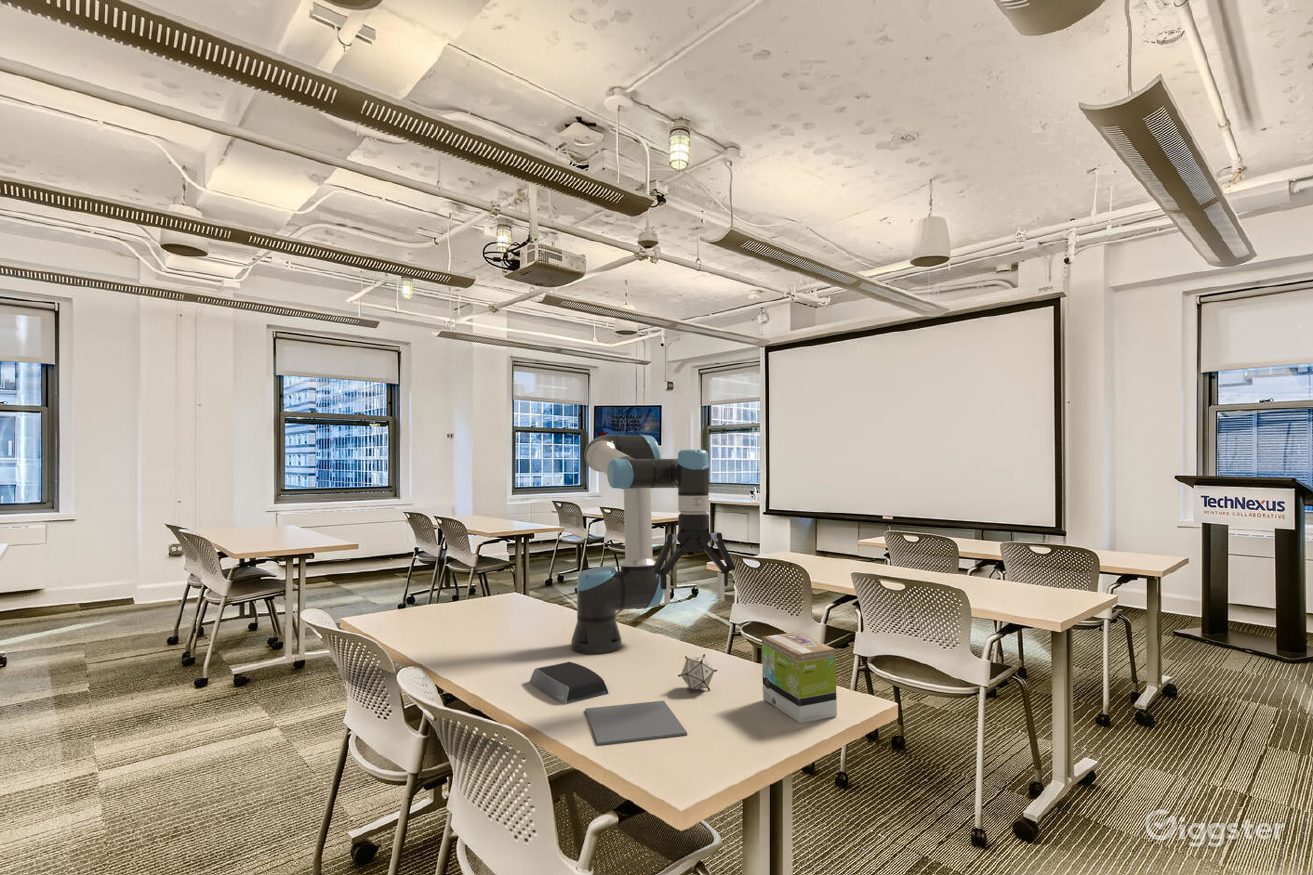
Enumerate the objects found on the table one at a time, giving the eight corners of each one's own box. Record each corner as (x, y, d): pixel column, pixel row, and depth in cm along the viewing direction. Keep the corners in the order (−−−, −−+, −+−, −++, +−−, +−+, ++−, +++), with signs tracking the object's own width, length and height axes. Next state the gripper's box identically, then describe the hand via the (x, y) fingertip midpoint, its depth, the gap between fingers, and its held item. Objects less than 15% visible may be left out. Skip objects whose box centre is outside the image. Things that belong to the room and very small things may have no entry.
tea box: (761, 700, 141) (760, 635, 142) (797, 694, 145) (796, 630, 146) (799, 724, 127) (798, 652, 128) (839, 717, 131) (837, 647, 132)
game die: (703, 707, 147) (713, 682, 141) (670, 692, 148) (679, 666, 143) (714, 679, 154) (723, 653, 149) (682, 664, 156) (691, 639, 150)
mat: (585, 710, 136) (585, 708, 136) (663, 702, 140) (663, 700, 140) (597, 745, 118) (597, 742, 118) (687, 735, 123) (687, 732, 123)
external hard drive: (562, 707, 139) (562, 688, 139) (526, 683, 155) (527, 667, 155) (611, 695, 146) (611, 677, 147) (573, 673, 162) (573, 658, 162)
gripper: (646, 515, 143) (647, 607, 142) (747, 512, 149) (748, 601, 147) (640, 513, 150) (640, 601, 149) (736, 511, 156) (737, 595, 155)
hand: (694, 601), depth 148 cm, fingers open, 13 cm apart
